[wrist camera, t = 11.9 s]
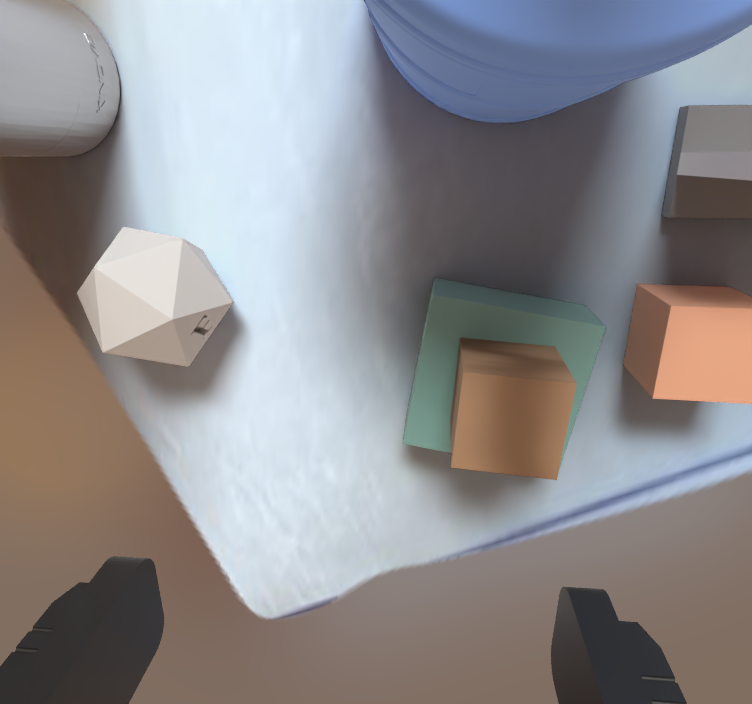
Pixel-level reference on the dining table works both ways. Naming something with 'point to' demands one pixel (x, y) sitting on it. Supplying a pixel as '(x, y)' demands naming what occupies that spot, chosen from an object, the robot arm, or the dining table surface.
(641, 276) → the dining table surface
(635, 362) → the terracotta block
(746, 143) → the placard
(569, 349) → the base block
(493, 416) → the walnut block
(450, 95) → the water jug
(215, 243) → the dining table surface
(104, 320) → the die
